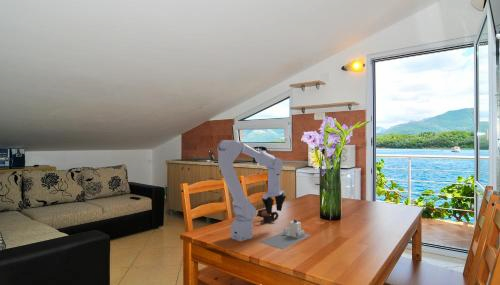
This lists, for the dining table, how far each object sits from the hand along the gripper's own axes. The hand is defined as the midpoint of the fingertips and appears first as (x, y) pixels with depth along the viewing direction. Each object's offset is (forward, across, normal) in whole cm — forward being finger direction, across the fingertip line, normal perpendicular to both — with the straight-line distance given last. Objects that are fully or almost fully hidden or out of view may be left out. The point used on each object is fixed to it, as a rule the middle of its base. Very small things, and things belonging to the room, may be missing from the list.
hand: (274, 212), depth 139 cm
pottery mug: (+10, +10, +12) cm, 18 cm away
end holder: (+9, 0, -11) cm, 14 cm away
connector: (+8, 0, -12) cm, 14 cm away
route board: (+9, -6, -11) cm, 16 cm away
